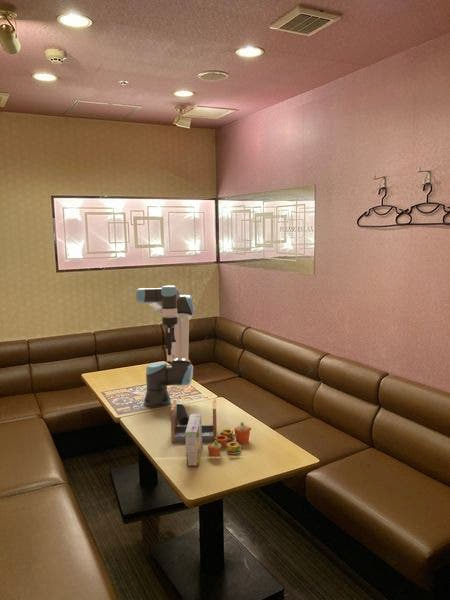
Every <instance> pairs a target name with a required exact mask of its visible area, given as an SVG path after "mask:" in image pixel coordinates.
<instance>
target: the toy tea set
mask: <svg viewBox="0 0 450 600" xmlns="http://www.w3.org/2000/svg"><path fill="white" fill-rule="evenodd" d="M251 431H252V426H251V427H250V426H248V425H246V424H245V423H244V422H243V421H241V422H240V423H239V424H237V425H236V426H235V427H234V429H231V428H226V429H222V430H221V431H220V432H219V433H218V434H219V435H217V436H216V437H215V441H214V442H208V444H207V450H208V455H209V456H210V457H213V458H216V457H218V456H220V455H221V454H220V453H221V448H225V447H227V448H226V453H227V454H228V455H229V454H230V455H238V454H241V452H242V449H241V448H242V445H245V444H248V443H249V441H250V434H251ZM234 438H235V441H232V440H234ZM228 441H231V442H228Z"/></svg>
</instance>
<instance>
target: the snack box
mask: <svg viewBox="0 0 450 600" xmlns="http://www.w3.org/2000/svg"><path fill="white" fill-rule="evenodd" d="M202 425H203V424H202V414H201V413H191V414H190V415H189V421H188V425H187V428H186V431H185V438H186V443H185V453H186V454H185V455H186V466H187V467H197V466H199V465H200V459H201V454H202V449H203V446H204V445H203V443H204V442H202Z"/></svg>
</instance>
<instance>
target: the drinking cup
mask: <svg viewBox="0 0 450 600" xmlns="http://www.w3.org/2000/svg"><path fill="white" fill-rule="evenodd" d="M176 404H177V422H178V423H179V424H181V425H180V426H182V425H188V421H189V418H190V416H188V413H187V410H186V407H185V406H184V405H183V404H181V403H176Z"/></svg>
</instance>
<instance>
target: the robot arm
mask: <svg viewBox="0 0 450 600" xmlns="http://www.w3.org/2000/svg"><path fill="white" fill-rule="evenodd" d="M135 297H136V302H137V303H139V304H140V303H142V304H147V305H148V306H150V308H151V310H153V311H155V312H156V313H160V314H162V315H161V316H162V320H161V321H162V322H161V323H162V325H163V326H166V328H165V336H166V338H165V340H166V341H165V343H166V344H165V347H164V349H165V350H166V362H165V361H157V362H151V363H150V364H148V365H147V366H146V367H145V376H146V377H145V380H146V383H145V384H146V392H145V396H144V399H143V404H144V406H146V407H149V408H162V407H166V406H168V405H170V404H171V402H172V401H171V400H172V399H171V396H170V394H169V391H168V386H170V387H171V386H173V387H174V386H182V387H184V386H189V385H190V384H192V380H193V375H194V365H193V364H192V362H191V360H190V359H189V348H190V346H189V342H190V341H189V339H190V338H189V336H190V320H191V319H192V317H193V315H195V306H194V299H193V297H192V295H190V294H181V292H180V290H179V289H178V288H177V286H176V285H162V286H161V287H157V288H156V287H155V288H153V287H149V288H148V287H147V288H145V287H143V288H142V287H141V288H138V289H137V290H136V293H135ZM167 362H170V364H167Z"/></svg>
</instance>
